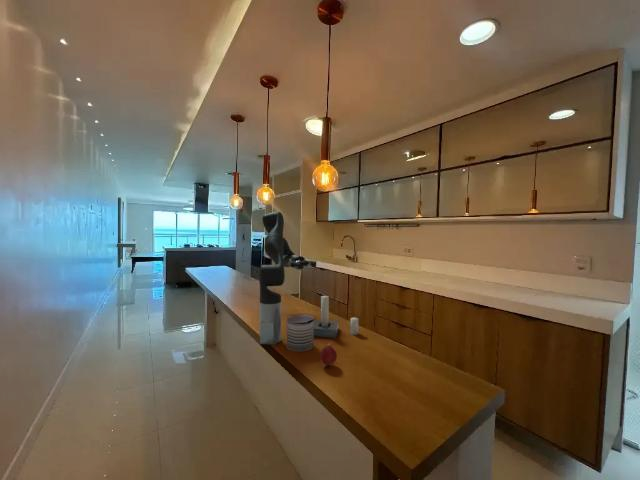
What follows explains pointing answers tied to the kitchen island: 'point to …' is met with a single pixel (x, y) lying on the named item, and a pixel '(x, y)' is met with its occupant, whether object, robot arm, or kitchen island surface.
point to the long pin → (324, 311)
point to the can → (300, 332)
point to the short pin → (354, 326)
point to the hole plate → (325, 329)
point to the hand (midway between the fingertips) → (307, 265)
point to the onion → (328, 355)
